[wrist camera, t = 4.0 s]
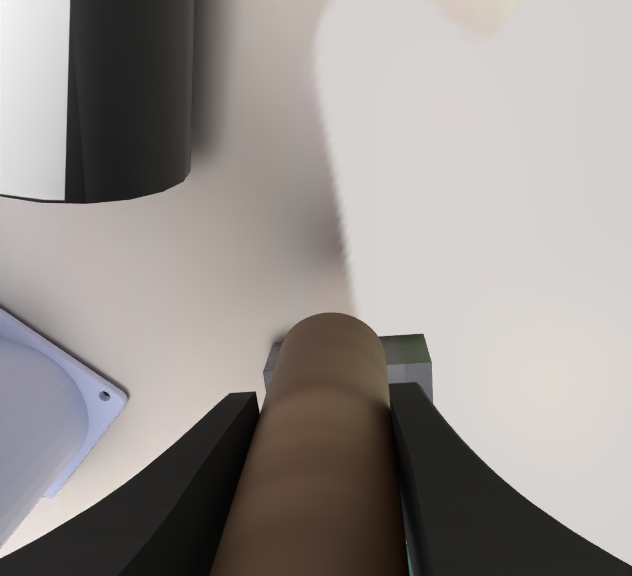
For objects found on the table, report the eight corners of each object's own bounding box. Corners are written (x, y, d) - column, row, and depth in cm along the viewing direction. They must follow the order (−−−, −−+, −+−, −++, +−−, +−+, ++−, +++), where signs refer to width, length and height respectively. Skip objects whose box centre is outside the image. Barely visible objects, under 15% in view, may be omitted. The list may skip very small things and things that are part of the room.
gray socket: (291, 463, 24) (284, 502, 22) (273, 343, 22) (262, 372, 19) (428, 458, 23) (436, 498, 21) (423, 333, 21) (431, 362, 19)
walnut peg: (258, 366, 14) (148, 659, 7) (323, 291, 13) (279, 535, 6) (339, 424, 15) (321, 759, 7) (408, 356, 14) (469, 660, 6)
